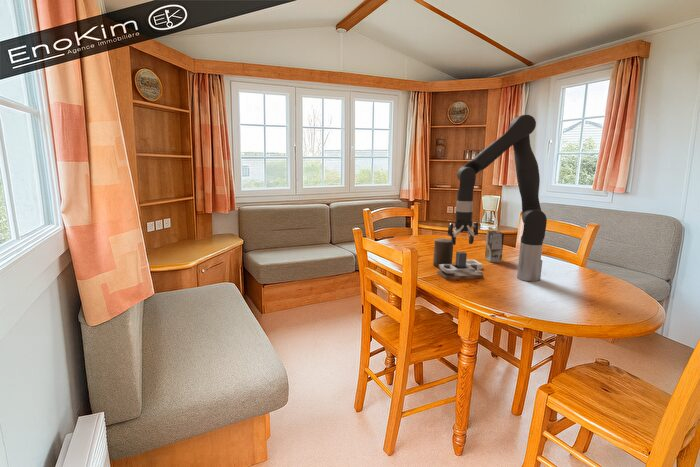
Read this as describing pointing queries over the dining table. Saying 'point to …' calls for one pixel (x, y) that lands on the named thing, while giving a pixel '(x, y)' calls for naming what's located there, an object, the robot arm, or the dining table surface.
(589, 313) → the dining table surface
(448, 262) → the pillar candle
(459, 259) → the steel pin
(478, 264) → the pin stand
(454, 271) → the grey slotted fixture
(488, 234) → the coffee box
